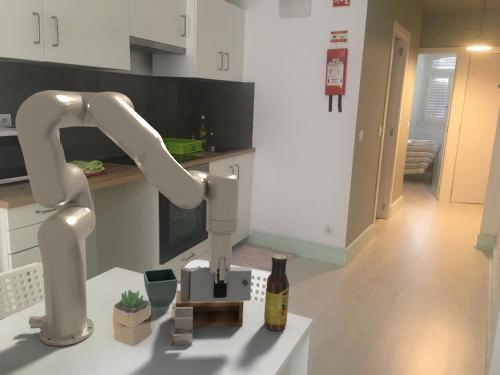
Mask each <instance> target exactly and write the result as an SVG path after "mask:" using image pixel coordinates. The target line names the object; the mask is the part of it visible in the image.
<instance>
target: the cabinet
mask: <svg viewBox="0 0 500 375" xmlns="http://www.w3.org/2000/svg"><path fill="white" fill-rule="evenodd" d="M175 303H176V307H193V328H202V327H203V328H207V327H208V328H209V327H243V324H244V323H243V322H244V321H243V320H244V303H245V301H207V302H190V301H188V302H182V301H181V289H180V290H177V291H176V295H175Z"/></svg>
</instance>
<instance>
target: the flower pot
mask: <svg viewBox="0 0 500 375" xmlns="http://www.w3.org/2000/svg"><path fill="white" fill-rule="evenodd" d="M143 282H144V289H145V292H146V295H147V298H148V301H150V302H149V304H150V303H151V304H150V306H151V307H152V308H160V307H161V308H162V307H169V306H171V305H172V304H173V302H174V300H175V299H176V294H177V291H178V283H179V278H178V277H177V274H176V273H175V271H174V269H173V268H161V269H152V270H151V269H150V270H143Z"/></svg>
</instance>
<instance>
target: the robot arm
mask: <svg viewBox="0 0 500 375" xmlns="http://www.w3.org/2000/svg"><path fill="white" fill-rule="evenodd" d="M71 127H93V128H96V127H97V129H99V130H100V131H102V133H103V134H104V135H106V136H107V137H108V138H109V139H110V140H111V141H113V143H114V144H116V145H117V146H118V147H119V148H120V149H121V150H122V151H123V152H124V153H126V155H128V156H129V157H130V159H132V160H133V161H134V163H135V165H136V166H137V167H138V169H139V170H140V171H141V172H142V174H143V175H144V176H145V177H146V178H147V180H148V181H149V183H151V185H152V186H153V187H154V188H155V189H157V191H159V192H160V193H161V194H162V195H163V196H164V197H165V198H167V199H168V200H169V201H170V202H171V203H172V204H174V205H175V206H177V207H178V208H180V209H183V210H192V209H194V208H197V207H198V206H200V204H201V203H202V202H203V201H204V200H205V201H206V217H205V218H206V219H205V220H206V225H205V227H206V228H205V230H206V232H208V233H209V241H208V242H209V246H208V248H209V249H208V267H209V270H210V273H211V274H213V273H215V282H214V298H226V297H227V282H226V278H227V273H229V272H230V267H232V252H233V249H232V247H233V244H232V242H233V234H235V233H236V232H237V231H238V215H239V214H238V213H239V212H238V211H239V210H238V209H239V189H240V187H239V185H240V183H239V182H240V181H239V178H238V176H237V175H235V174H233V173H228V172H217V173H215V172H214V173H212V172H205V171H201V170H200V171H199V170H194V169H191V170H186V169H185V168H184V167H183V166H181V164H180V163H178V161H176V160H175V159H174V157H173V156H172V155H171V153H170V152H169V150H168V149H167V148H166V145H165V143H164V140H163V138H162V136H161V135H160V133H159V132H158V131H157V130H156V129H155V128H154V127H152V125H150V124H149V123H148V122H147V120H145V119H144V118H143V117H142V116H140V114H138V113H137V112H136V111H135V106H134V104H133V102H132V101H131V99H130V98H129V97H128V96H127V95H126V94H123V93H121V92H116V91H115V92H114V91H102V92H89V91H88V92H86V91H67V90H66V91H65V90H58V89H57V90H55V89H53V90H52V89H49V90H43V91H39V92H36V93H34V94H32V95H30V96H29V97H28V98H26V100H24V101H23V103H22V104H21V105H20V106H19V108H18V110H17V112H16V116H15V130H16V131H15V132H16V135H17V138H18V142H19V144H20V148H21V151H22V155H23V159H24V164H25V169H26V172H27V176H28V180H29V185H30V189H31V193H32V196H33V198H34V200H35V201H36V203H37V204H38V205H39V206H41V207H42V208H46V209H56V212H54V213H51V214H50V215H49V216H48V217H46V218H45V220H43V221H42V222H41V224H40V225H39V228H38V230H37V244H38V249H39V252H40V256H41V257H40V258H41V263H42V276H43V278H42V279H43V291H44V292H43V293H44V308H45V309H44V310H45V314H44V315H42V316H35V315H34V316H29V318H28V324H29V327H30V329H40V330H39V339H40V341H41V342H42V343H43V344H46V345H48V346H54V347H55V346H56V347H63V346H70V345H74V344H77V343H80V342H82V341H84V340H86V339H87V338H89V337H90V336H91V335H92V334H93V332H94V328H95V326H94V325H95V324H94V321H93V320H91V319H90V318H89V317H88V305H87V302H88V301H87V280H86V279H87V276H86V273H87V272H86V261H85V255H84V253H83V248H82V244H83V243H82V242H83V241H84V240H85V239H86V238H88V237H89V236H90V235H91V233H92V232H93V231H94V229H95V226H96V220H97V219H96V217H97V216H96V213H95V208H94V202H93V198H92V194H91V190H90V185H89V181H88V179H87V176H86V174H85V172H84V171H83V170H82V169H81V168H80V167H78V166H77V165H76V164H73V163H70V162H67V161H66V156H65V151H64V148H63V144H62V143H61V141H60V138H59V137H58V134H57V131H58V130H60V129H63V128H64V129H65V128H71ZM217 269H219V270H217ZM218 274H219V275H218ZM217 276H218V277H217Z"/></svg>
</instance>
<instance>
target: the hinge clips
mask: <svg viewBox="0 0 500 375" xmlns="http://www.w3.org/2000/svg"><path fill="white" fill-rule="evenodd" d="M170 320H171V322H170V346H189V345H193V328H194V327H193V307H176V302H174V303H173V302H172V310H171V319H170Z"/></svg>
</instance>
